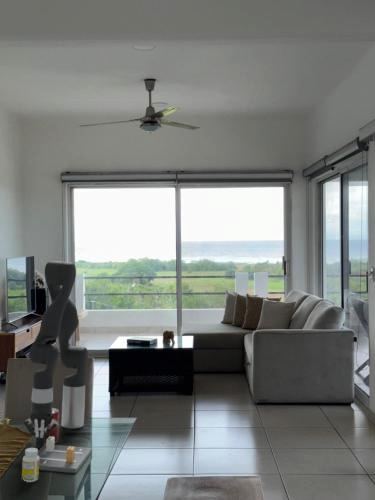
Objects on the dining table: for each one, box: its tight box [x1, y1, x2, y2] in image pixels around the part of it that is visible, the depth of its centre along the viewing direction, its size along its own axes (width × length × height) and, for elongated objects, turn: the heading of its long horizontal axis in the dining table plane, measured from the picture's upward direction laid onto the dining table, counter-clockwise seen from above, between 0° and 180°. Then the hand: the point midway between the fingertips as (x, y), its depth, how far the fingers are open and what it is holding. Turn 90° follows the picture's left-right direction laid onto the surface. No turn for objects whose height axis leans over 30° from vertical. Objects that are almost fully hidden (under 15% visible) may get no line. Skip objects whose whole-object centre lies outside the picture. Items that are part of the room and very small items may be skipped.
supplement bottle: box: [21, 447, 40, 483], centre depth 192 cm, size 5×5×10 cm
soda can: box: [44, 407, 61, 445], centre depth 228 cm, size 7×7×12 cm
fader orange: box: [66, 445, 76, 463], centre depth 205 cm, size 3×2×5 cm, turn 174°
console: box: [37, 444, 93, 474], centre depth 210 cm, size 20×18×2 cm
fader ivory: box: [46, 436, 56, 452], centre depth 214 cm, size 3×2×5 cm, turn 174°
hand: (40, 446), depth 215 cm, fingers closed
